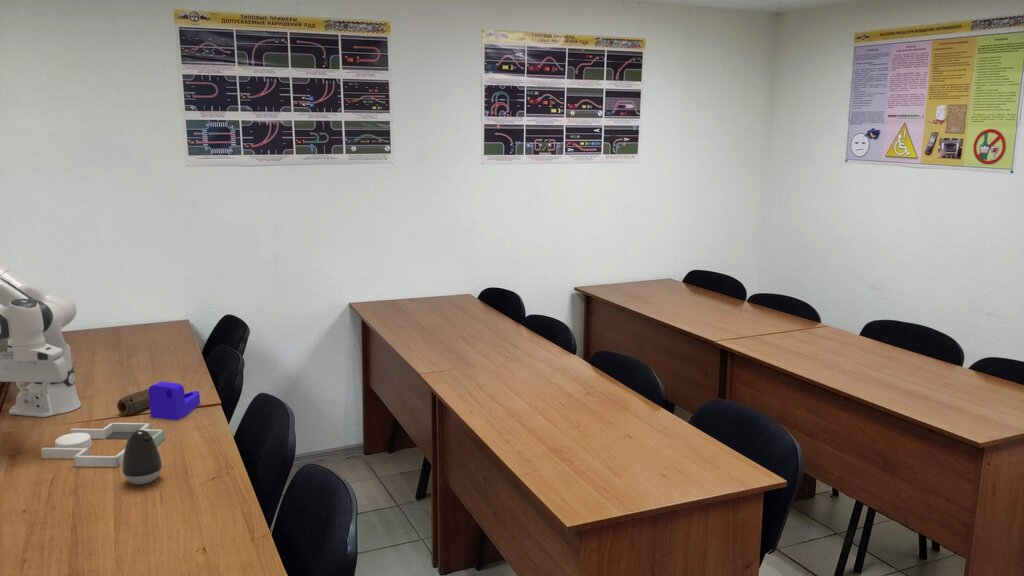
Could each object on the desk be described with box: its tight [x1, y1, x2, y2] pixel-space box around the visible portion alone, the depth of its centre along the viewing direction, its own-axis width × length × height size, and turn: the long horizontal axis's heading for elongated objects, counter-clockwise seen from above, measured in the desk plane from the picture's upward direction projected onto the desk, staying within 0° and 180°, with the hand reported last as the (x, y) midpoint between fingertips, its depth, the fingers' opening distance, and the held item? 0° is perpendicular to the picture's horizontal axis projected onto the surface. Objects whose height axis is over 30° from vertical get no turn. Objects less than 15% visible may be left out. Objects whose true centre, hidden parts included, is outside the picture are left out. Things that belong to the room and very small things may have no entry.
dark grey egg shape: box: [121, 430, 163, 485], centre depth 228 cm, size 10×10×15 cm
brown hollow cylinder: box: [116, 388, 150, 416], centre depth 286 cm, size 15×7×7 cm, turn 163°
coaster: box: [54, 432, 93, 449], centre depth 253 cm, size 10×10×4 cm
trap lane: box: [40, 422, 166, 468], centre depth 252 cm, size 30×28×3 cm
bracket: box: [148, 381, 201, 421], centre depth 286 cm, size 18×11×12 cm, turn 163°
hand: (34, 395), depth 250 cm, fingers open, 4 cm apart
